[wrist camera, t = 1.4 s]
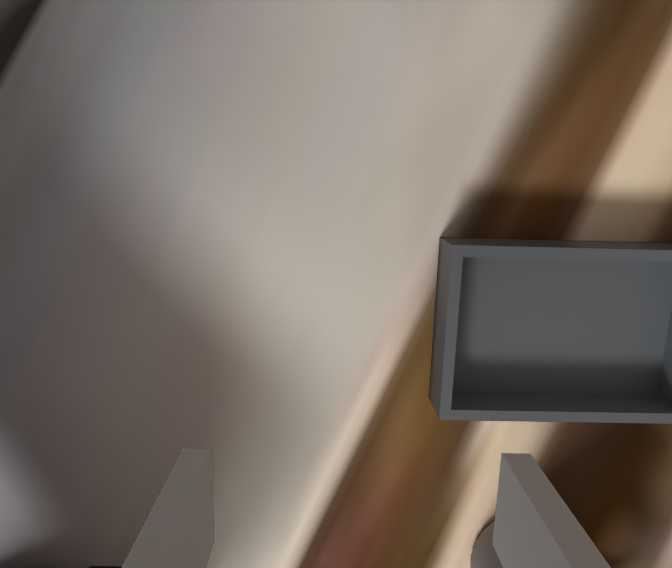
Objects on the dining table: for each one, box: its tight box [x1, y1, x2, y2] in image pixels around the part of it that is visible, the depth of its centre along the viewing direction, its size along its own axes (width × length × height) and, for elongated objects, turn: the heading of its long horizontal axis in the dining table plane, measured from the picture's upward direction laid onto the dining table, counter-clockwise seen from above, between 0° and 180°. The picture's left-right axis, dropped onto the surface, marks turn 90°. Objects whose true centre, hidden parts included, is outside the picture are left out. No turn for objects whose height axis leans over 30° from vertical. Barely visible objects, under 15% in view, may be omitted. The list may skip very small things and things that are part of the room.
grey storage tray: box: [429, 237, 672, 424], centre depth 30 cm, size 14×10×3 cm
